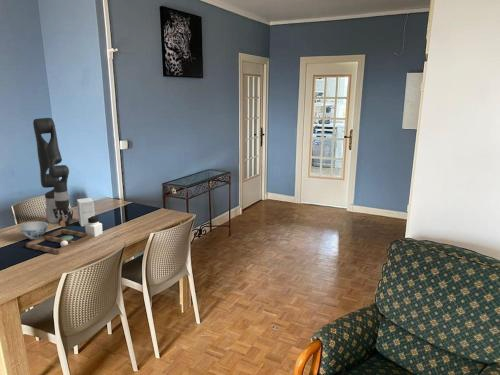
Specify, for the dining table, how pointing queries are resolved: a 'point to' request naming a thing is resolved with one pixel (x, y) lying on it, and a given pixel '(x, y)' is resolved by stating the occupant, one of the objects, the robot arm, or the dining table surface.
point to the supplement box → (85, 210)
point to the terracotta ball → (63, 223)
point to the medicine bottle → (94, 226)
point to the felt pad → (67, 237)
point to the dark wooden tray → (58, 241)
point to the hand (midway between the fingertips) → (64, 225)
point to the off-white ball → (63, 243)
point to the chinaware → (34, 229)
